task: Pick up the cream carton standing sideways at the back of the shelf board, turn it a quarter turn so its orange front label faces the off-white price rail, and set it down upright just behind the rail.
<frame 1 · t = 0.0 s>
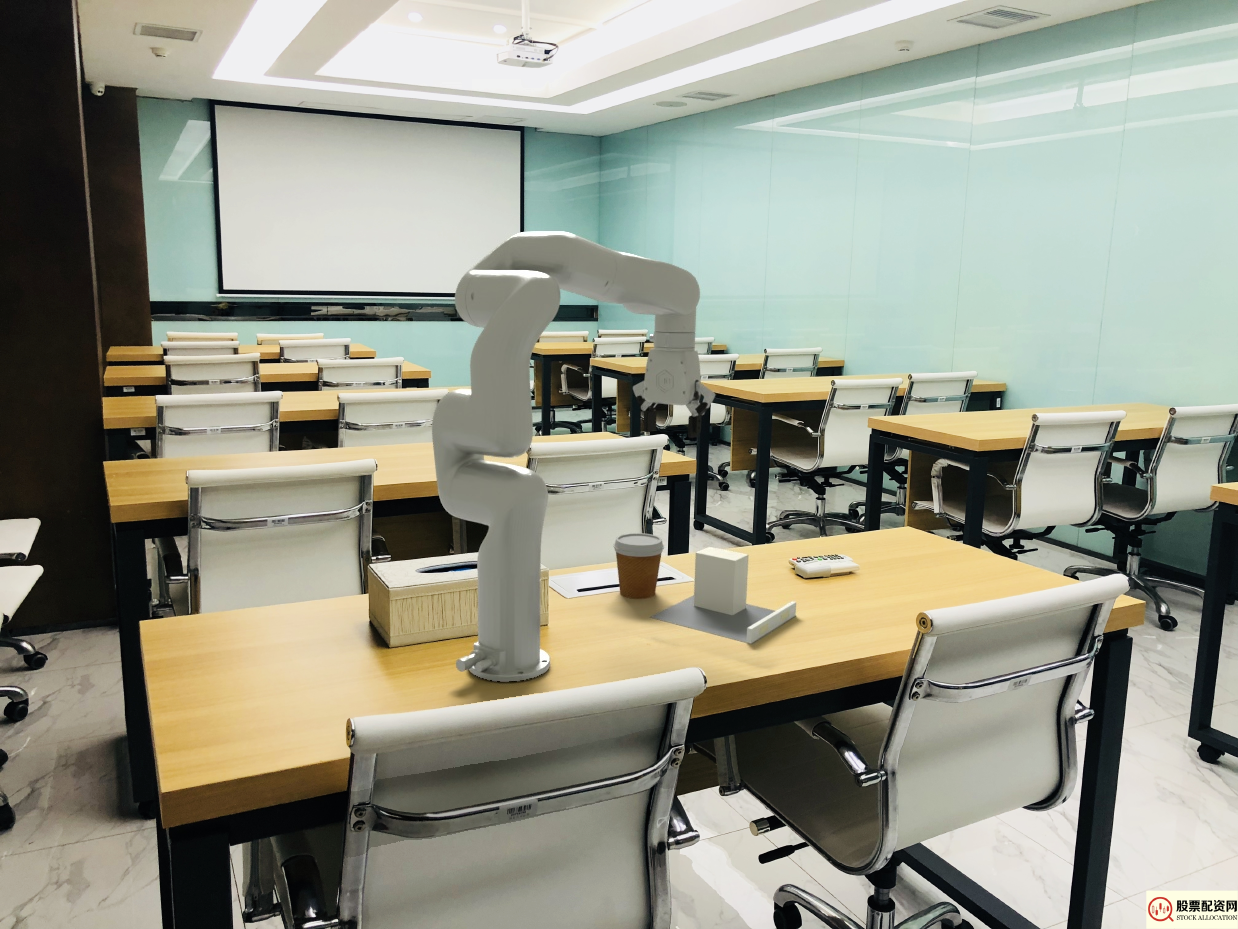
hand: (671, 434, 174), 31 cm above the table, tool pointing down, fingers open, 9 cm apart
shelf board: (723, 624, 163), on the table
disposable coffee cup: (637, 601, 175), on the table
carton: (719, 606, 168), point 1 cm above the table, touching shelf board
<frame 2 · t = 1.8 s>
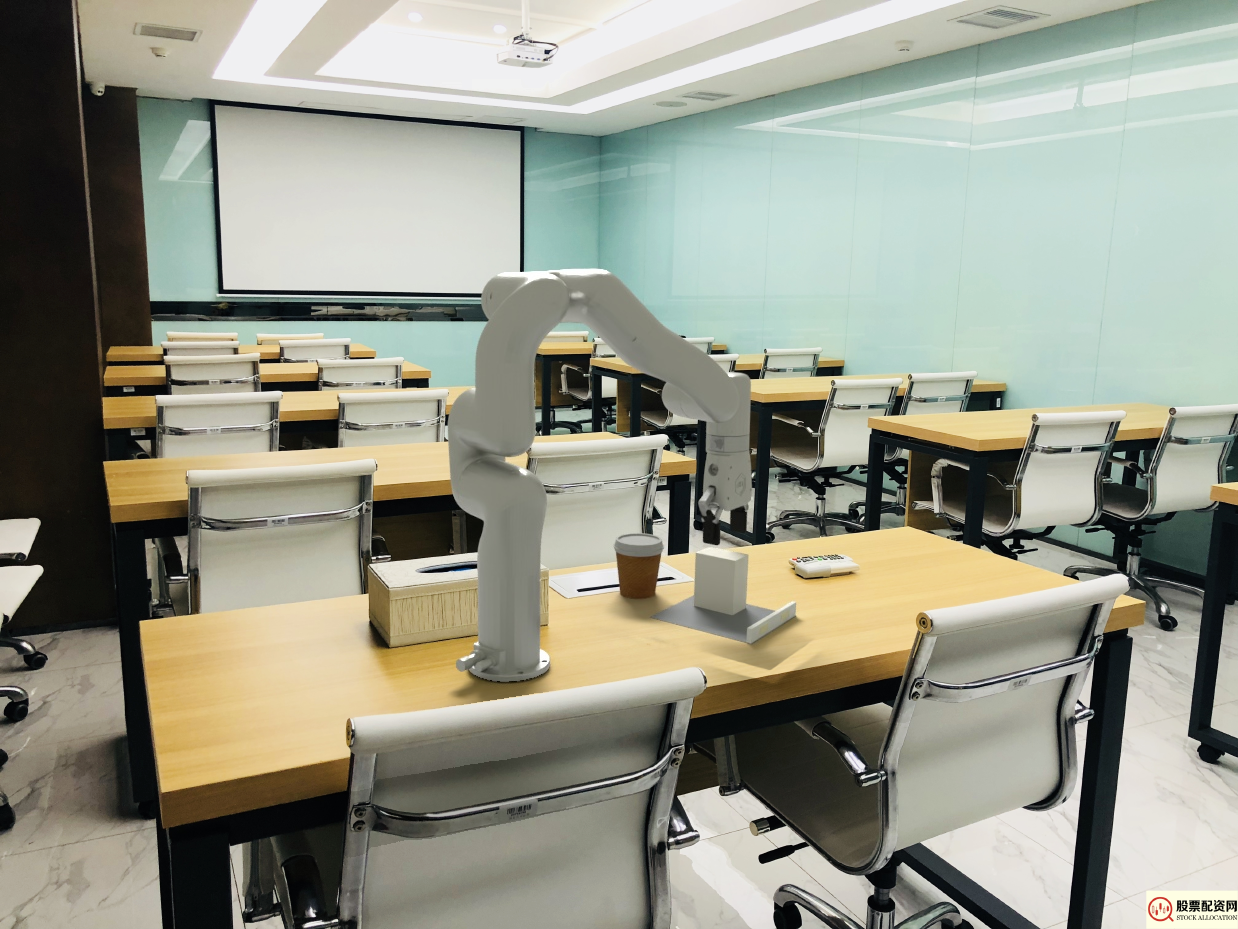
hand: (725, 537, 166), 14 cm above the table, tool pointing down, fingers open, 9 cm apart
nothing on the table moved.
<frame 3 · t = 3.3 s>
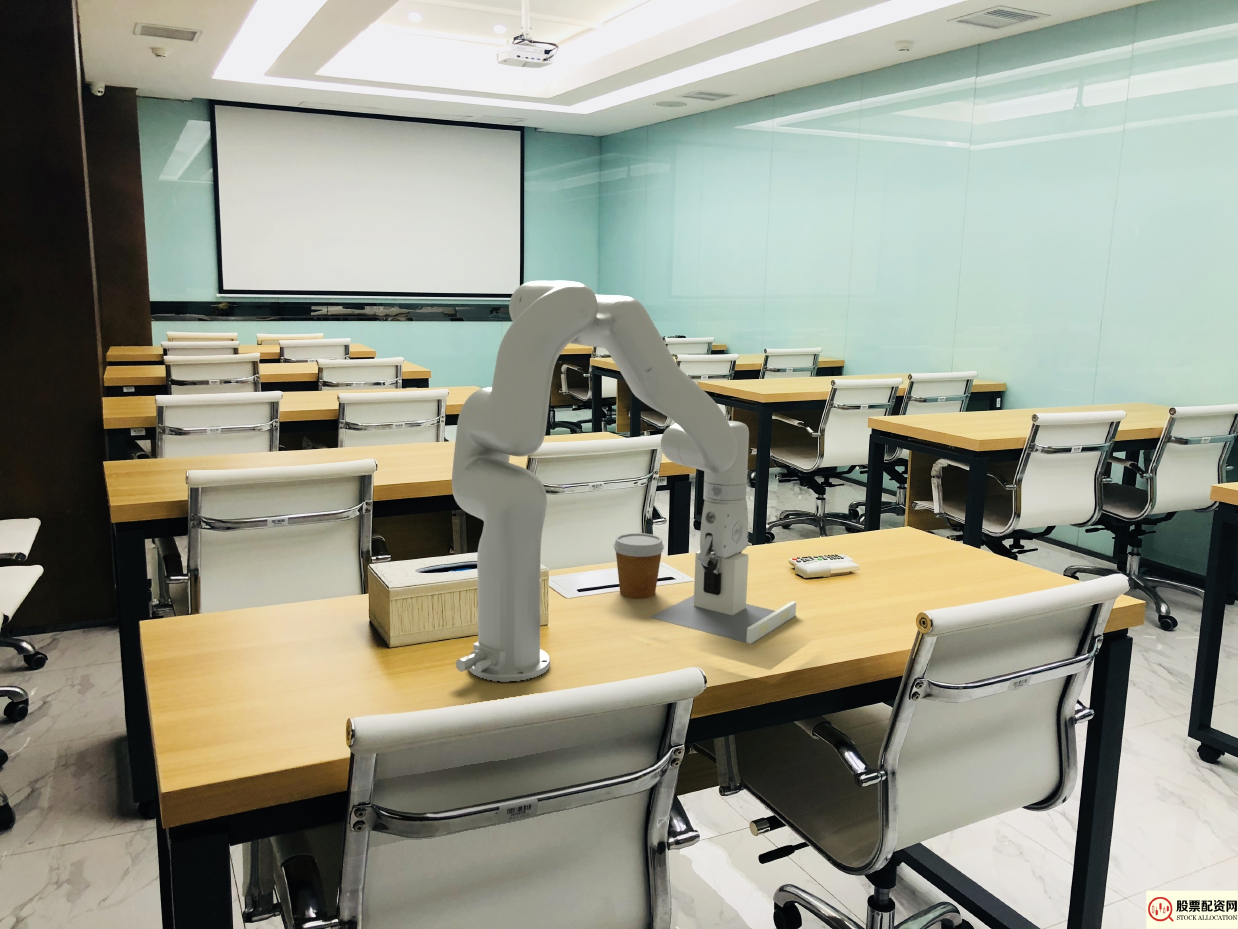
hand: (720, 587, 167), 5 cm above the table, tool pointing down, fingers closed on carton, 5 cm apart
carton: (719, 606, 168), point 2 cm above the table, touching gripper
everything else where it was.
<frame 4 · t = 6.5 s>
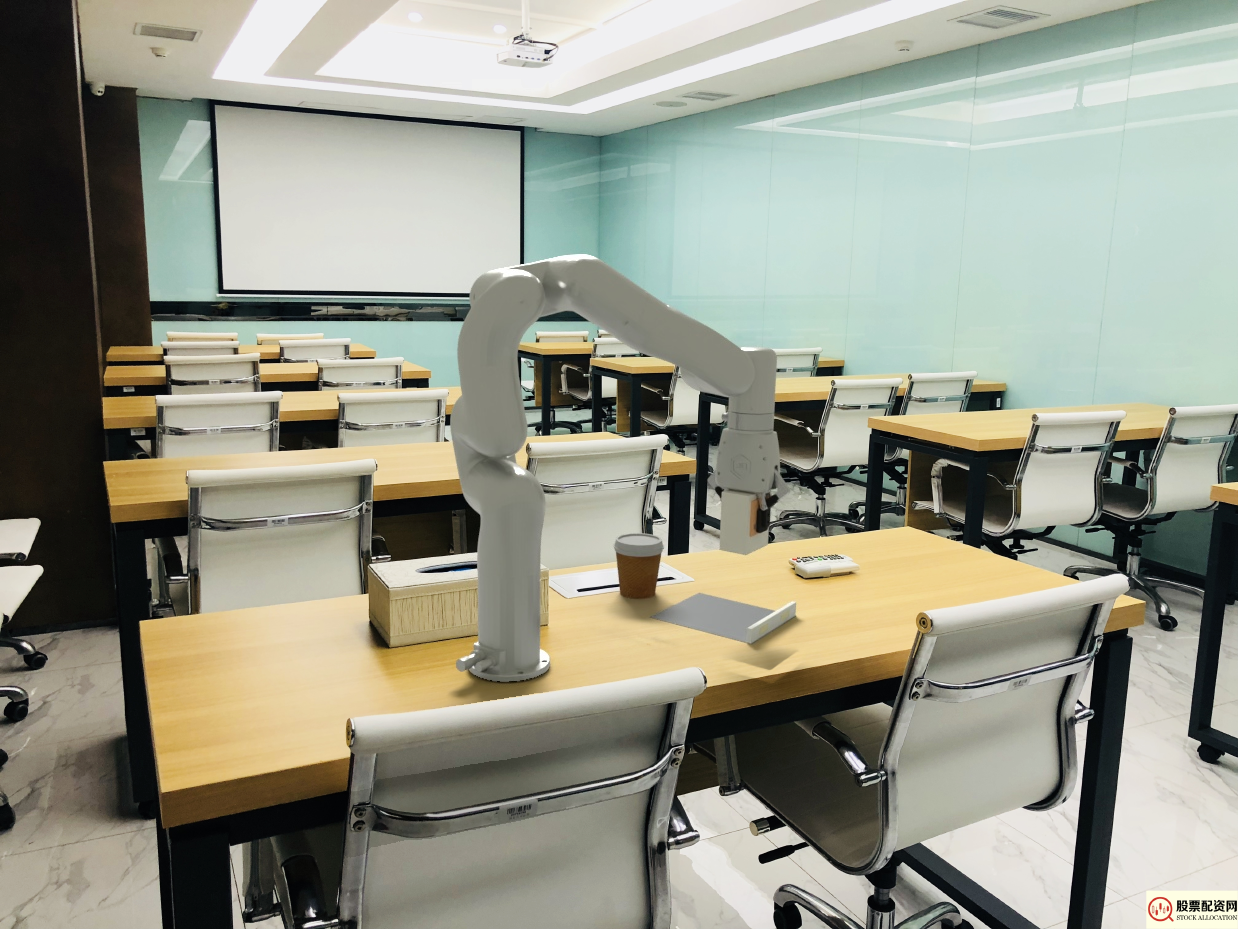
hand: (745, 527, 157), 19 cm above the table, tool pointing down, fingers closed on carton, 5 cm apart
carton: (743, 547, 158), point 15 cm above the table, touching gripper
everything else where it was.
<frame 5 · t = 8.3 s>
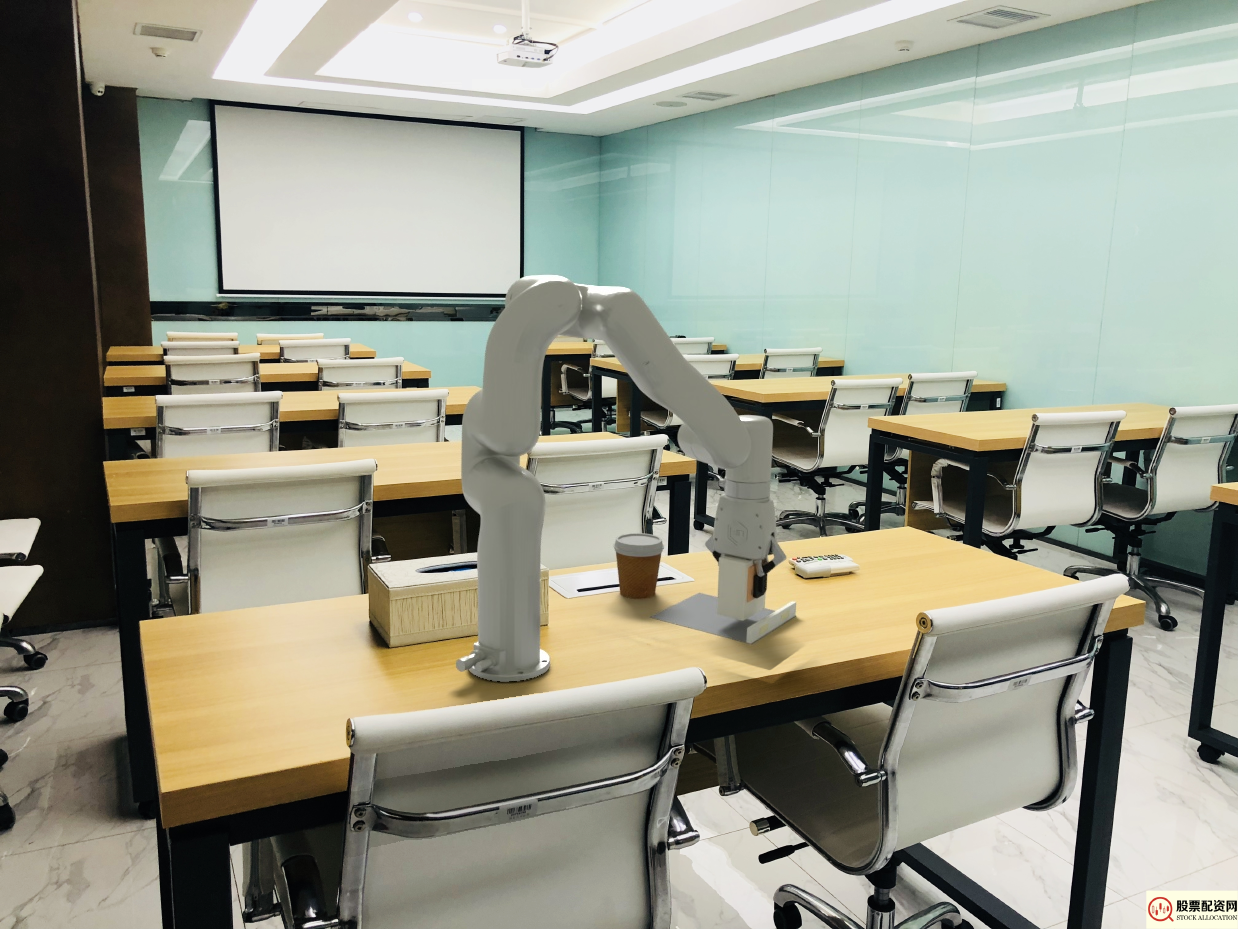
hand: (743, 591, 159), 7 cm above the table, tool pointing down, fingers closed on carton, 5 cm apart
carton: (741, 611, 160), point 4 cm above the table, touching gripper
everything else where it was.
when the fingers open (6 cm above the table, at t = 9.5 s): carton stays where it is, resting on shelf board.
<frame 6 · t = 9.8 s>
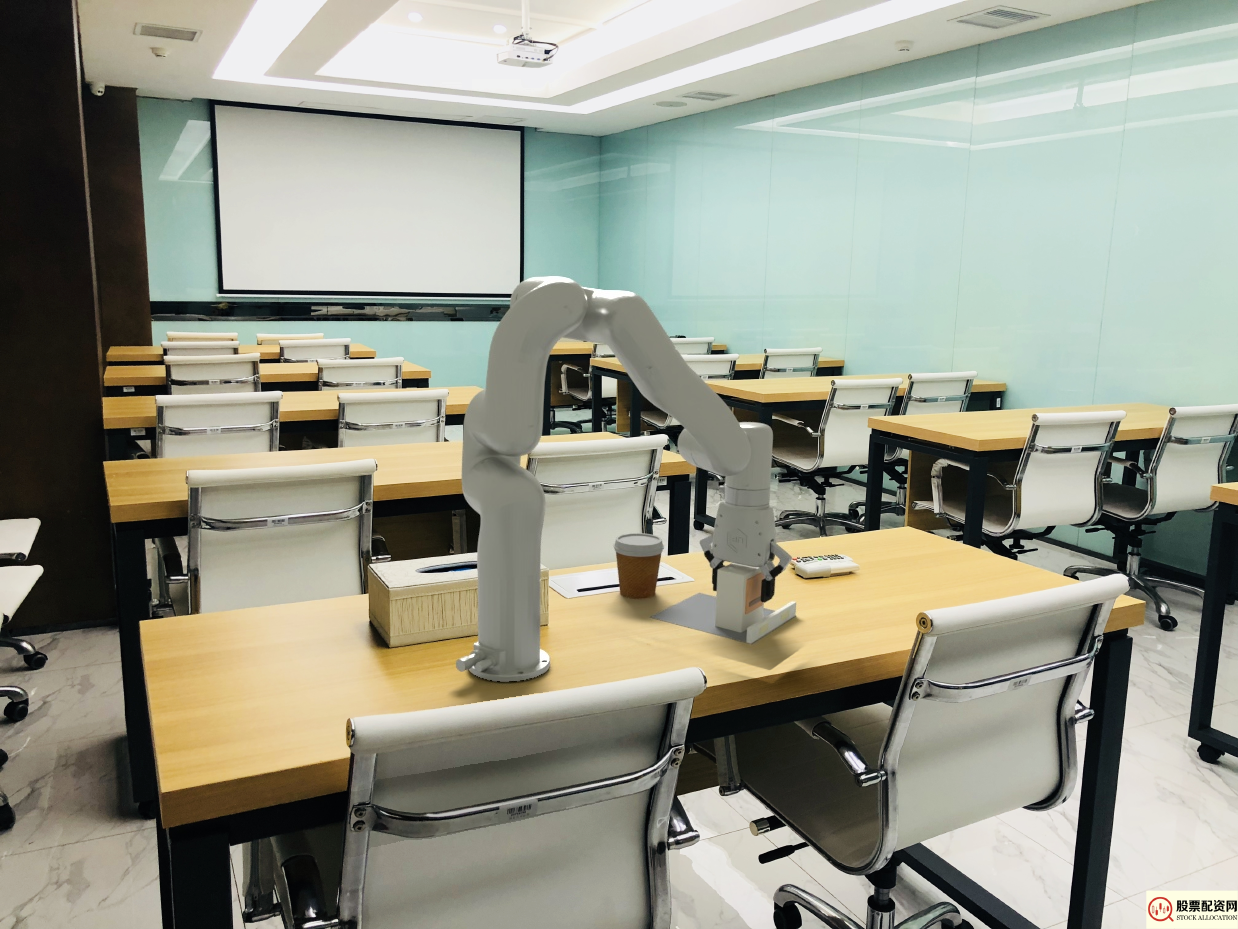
hand: (742, 594, 159), 7 cm above the table, tool pointing down, fingers open, 8 cm apart
carton: (739, 622, 160), point 1 cm above the table, touching shelf board
everything else where it was.
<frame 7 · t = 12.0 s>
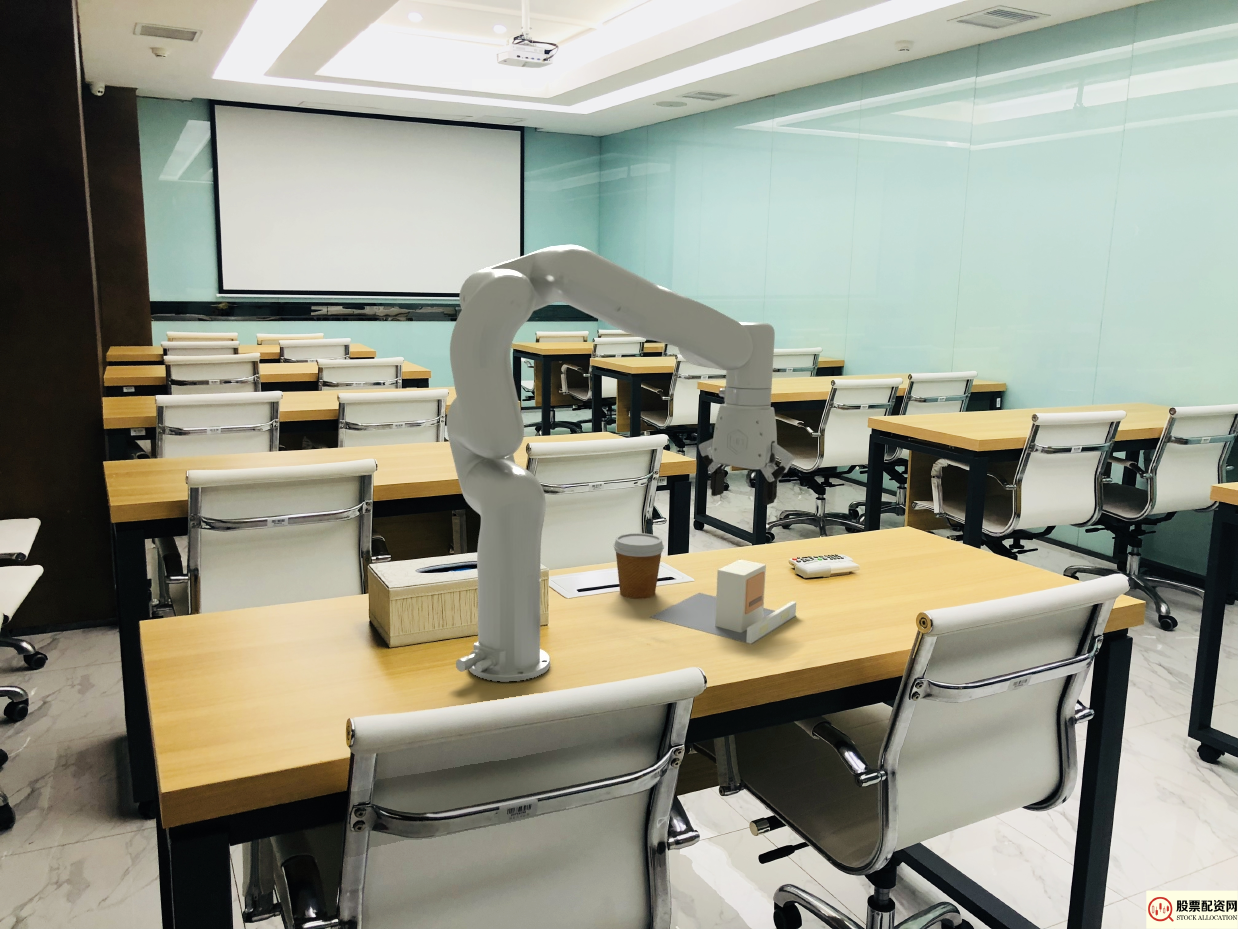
hand: (742, 499, 156), 23 cm above the table, tool pointing down, fingers open, 9 cm apart
nothing on the table moved.
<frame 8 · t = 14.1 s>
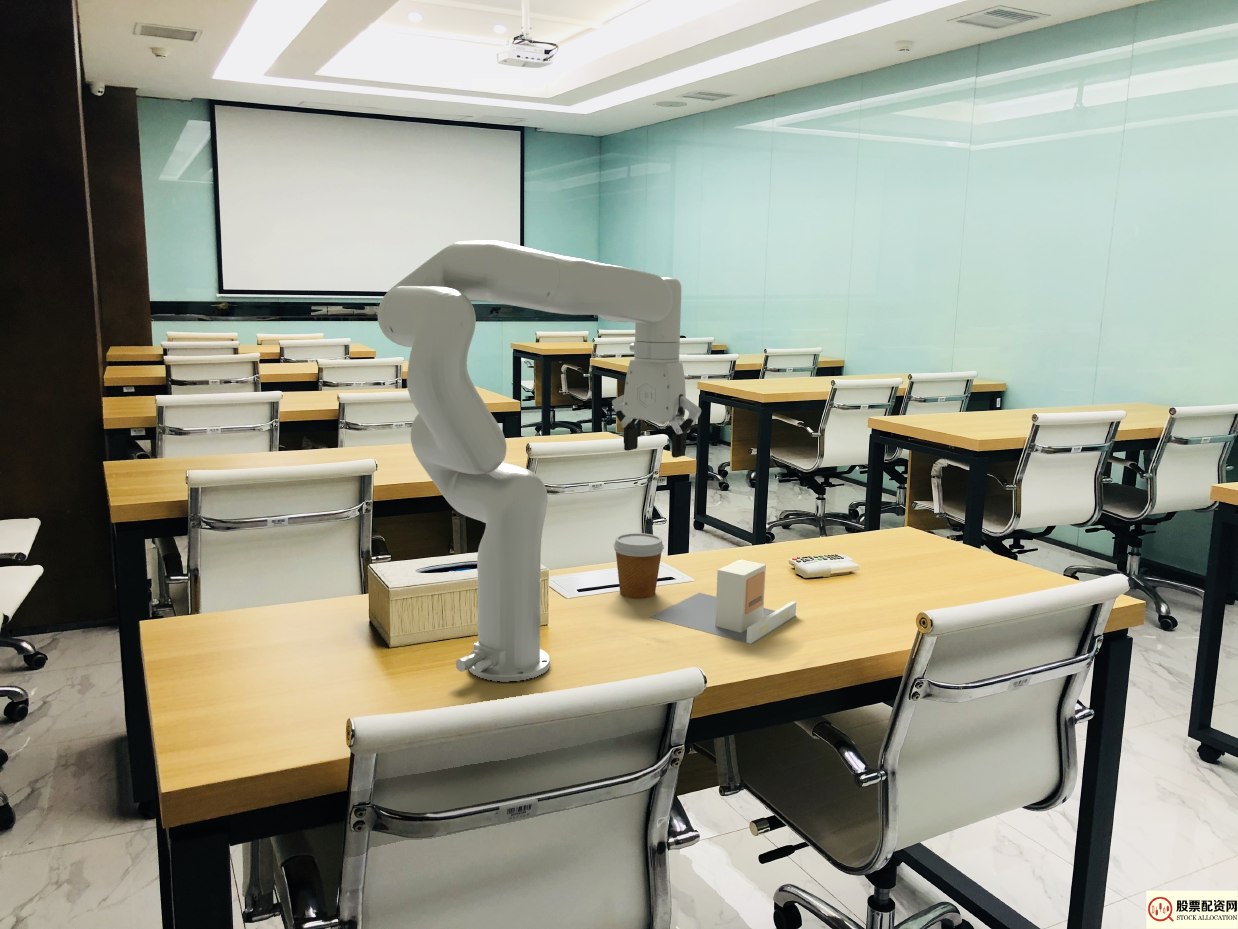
hand: (654, 452, 158), 30 cm above the table, tool pointing down, fingers open, 9 cm apart
nothing on the table moved.
at the end: carton inside the target area (0.6 cm from its centre), point 1.5 cm above the table; carton tilted 0°; the gripper is holding nothing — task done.
